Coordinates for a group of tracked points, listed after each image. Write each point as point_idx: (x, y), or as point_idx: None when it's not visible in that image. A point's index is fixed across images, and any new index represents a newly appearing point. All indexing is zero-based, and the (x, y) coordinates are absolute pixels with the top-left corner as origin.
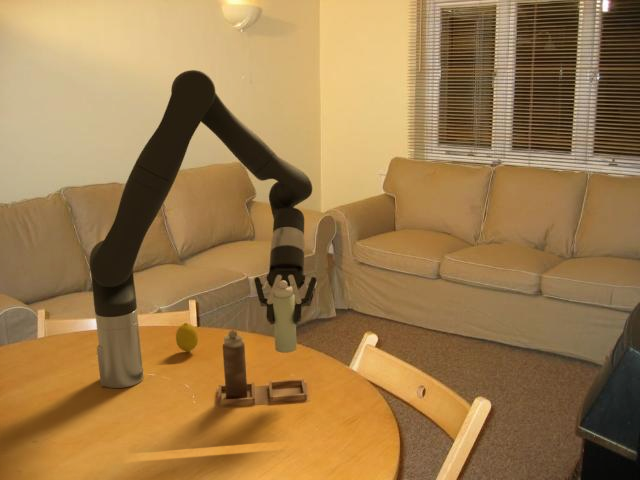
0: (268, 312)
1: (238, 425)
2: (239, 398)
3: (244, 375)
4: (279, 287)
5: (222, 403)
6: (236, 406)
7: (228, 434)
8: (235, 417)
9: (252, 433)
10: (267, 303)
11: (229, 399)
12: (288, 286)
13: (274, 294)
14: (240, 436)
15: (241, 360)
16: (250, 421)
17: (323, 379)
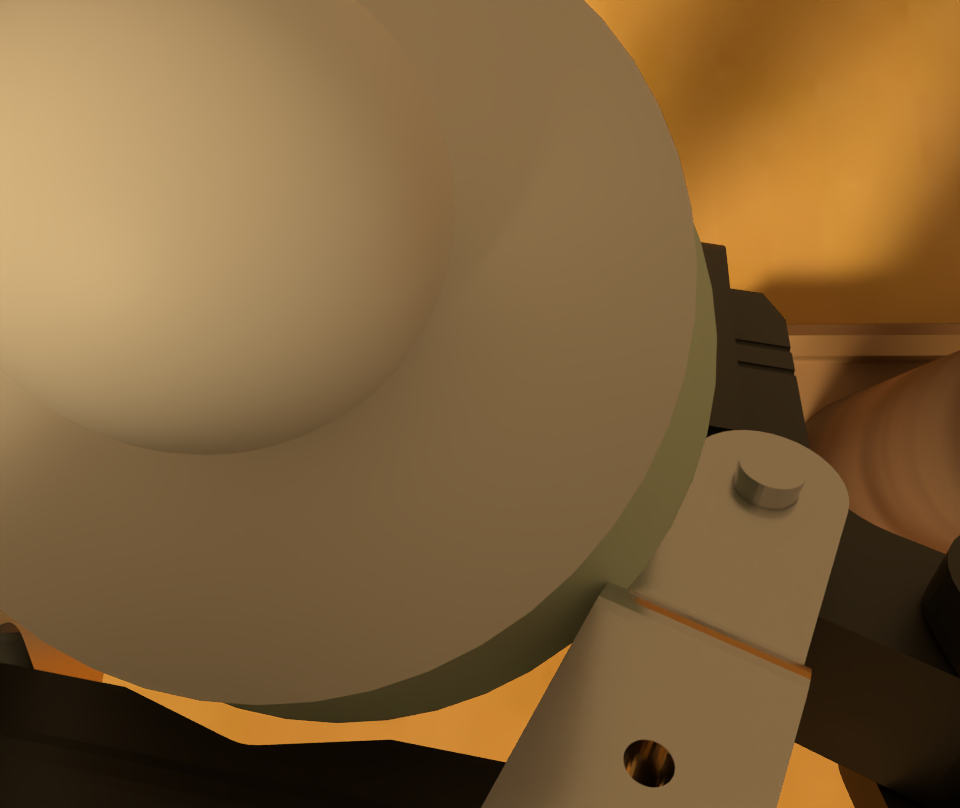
0: (757, 365)
1: (829, 152)
2: (854, 352)
3: (864, 409)
4: (440, 421)
5: None
6: (862, 325)
7: (885, 55)
8: (853, 256)
9: (739, 48)
10: (822, 486)
11: (929, 348)
12: (9, 494)
13: (651, 506)
14: (811, 23)
15: (951, 358)
16: (754, 191)
17: (217, 730)
